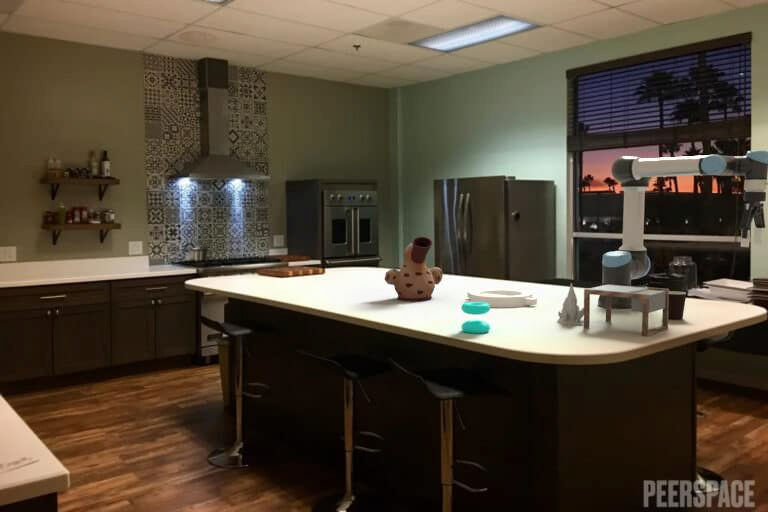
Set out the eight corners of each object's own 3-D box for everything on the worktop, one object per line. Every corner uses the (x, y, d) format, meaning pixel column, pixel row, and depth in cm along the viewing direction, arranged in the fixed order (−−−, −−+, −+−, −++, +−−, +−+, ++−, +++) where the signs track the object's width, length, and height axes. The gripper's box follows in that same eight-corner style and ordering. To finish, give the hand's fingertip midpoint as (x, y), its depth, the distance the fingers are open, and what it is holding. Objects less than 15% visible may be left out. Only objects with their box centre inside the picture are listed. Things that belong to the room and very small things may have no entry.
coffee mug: (684, 321, 244) (684, 294, 243) (659, 319, 249) (659, 293, 248) (688, 316, 254) (688, 291, 253) (664, 314, 258) (665, 289, 258)
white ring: (538, 307, 283) (538, 296, 282) (473, 308, 283) (473, 297, 283) (525, 298, 311) (525, 288, 310) (466, 299, 311) (466, 289, 311)
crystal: (579, 319, 252) (579, 280, 251) (588, 325, 239) (588, 284, 238) (553, 319, 253) (553, 280, 251) (560, 325, 239) (561, 284, 238)
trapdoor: (587, 306, 234) (587, 288, 233) (606, 302, 244) (606, 284, 244) (648, 313, 218) (648, 293, 218) (665, 307, 229) (666, 288, 228)
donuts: (480, 300, 236) (495, 304, 226) (480, 327, 236) (495, 332, 227) (456, 302, 232) (470, 306, 222) (456, 330, 232) (470, 335, 223)
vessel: (431, 294, 326) (430, 234, 324) (455, 300, 306) (454, 236, 304) (379, 298, 313) (378, 236, 311) (400, 304, 294) (400, 238, 291)
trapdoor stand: (583, 328, 233) (584, 289, 232) (607, 321, 246) (607, 284, 245) (646, 336, 217) (647, 294, 216) (668, 328, 231) (668, 289, 230)
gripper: (754, 191, 241) (749, 248, 243) (776, 190, 257) (772, 244, 260) (732, 191, 246) (728, 247, 249) (755, 190, 263) (752, 242, 266)
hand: (751, 245), depth 254 cm, fingers open, 13 cm apart
